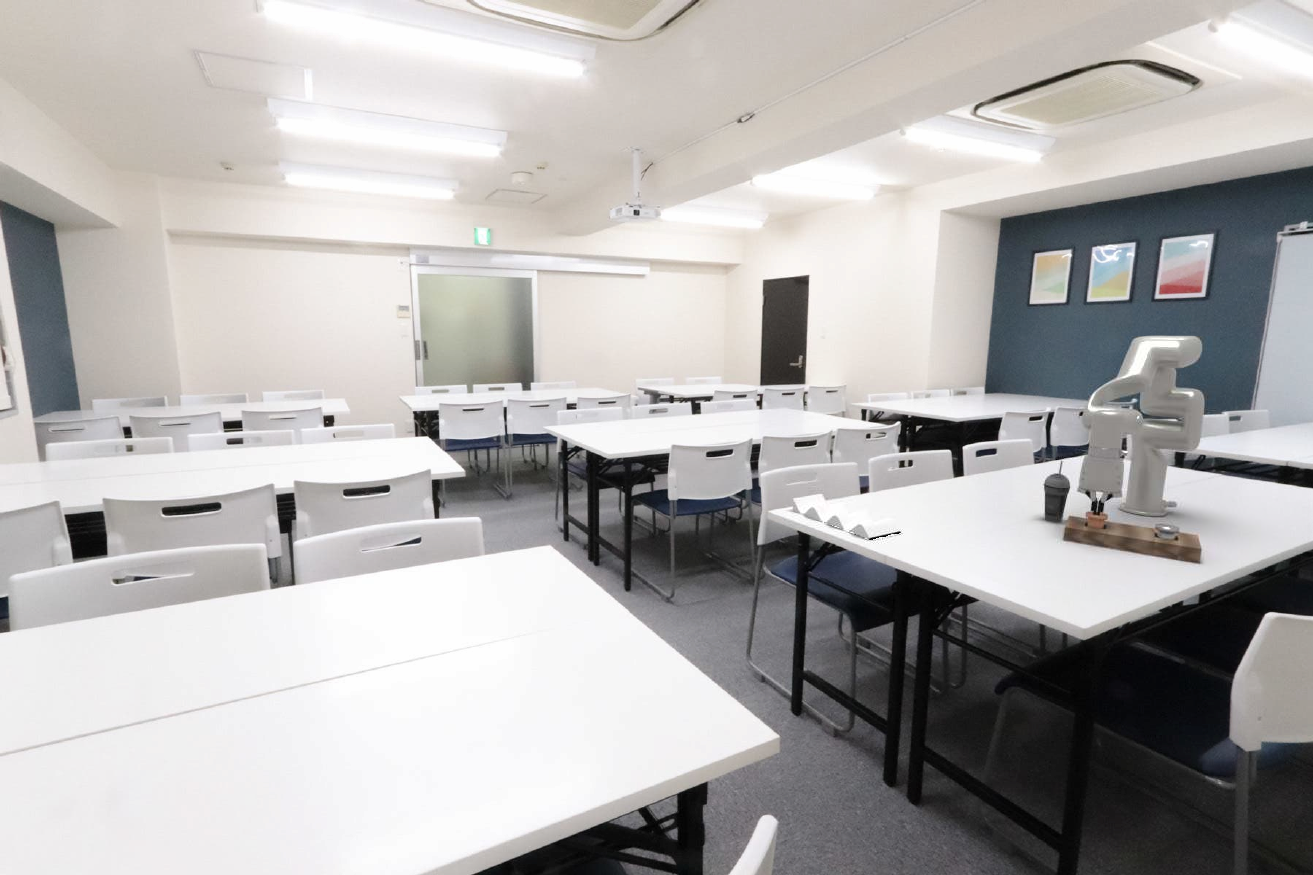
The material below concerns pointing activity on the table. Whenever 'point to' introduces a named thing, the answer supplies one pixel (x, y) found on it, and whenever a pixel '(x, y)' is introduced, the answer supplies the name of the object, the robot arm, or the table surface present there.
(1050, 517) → the beverage cup
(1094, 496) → the robot arm
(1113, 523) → the button board
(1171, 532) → the grey plunger
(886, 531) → the file organizer
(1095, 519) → the terracotta plunger
